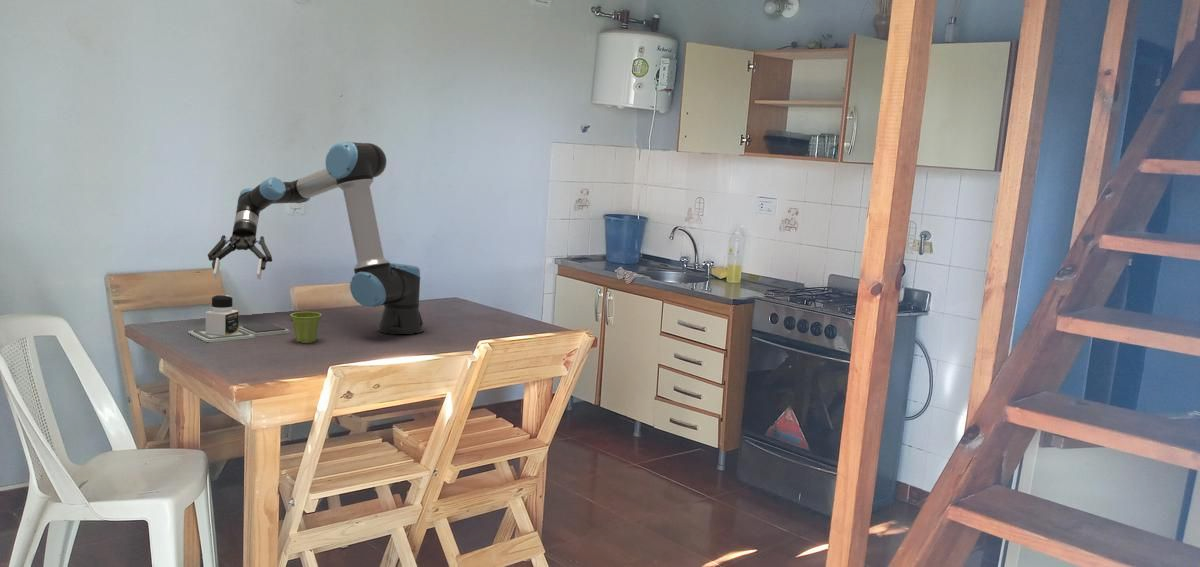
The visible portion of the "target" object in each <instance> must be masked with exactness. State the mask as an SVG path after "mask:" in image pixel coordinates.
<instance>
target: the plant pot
mask: <svg viewBox="0 0 1200 567" xmlns="http://www.w3.org/2000/svg"><path fill="white" fill-rule="evenodd" d="M322 316H323V315H322V313H320V312H316V311H299V312H297V311H296V312H293V313H290V317H291V320H292V322H293V330H294V336H295V337H294V338H295V341H296V342H297V343H302V344H308V343H309V344H311V343H313V342H316V341H317V335H318V328H319V323H320V320H321V317H322Z"/></svg>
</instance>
